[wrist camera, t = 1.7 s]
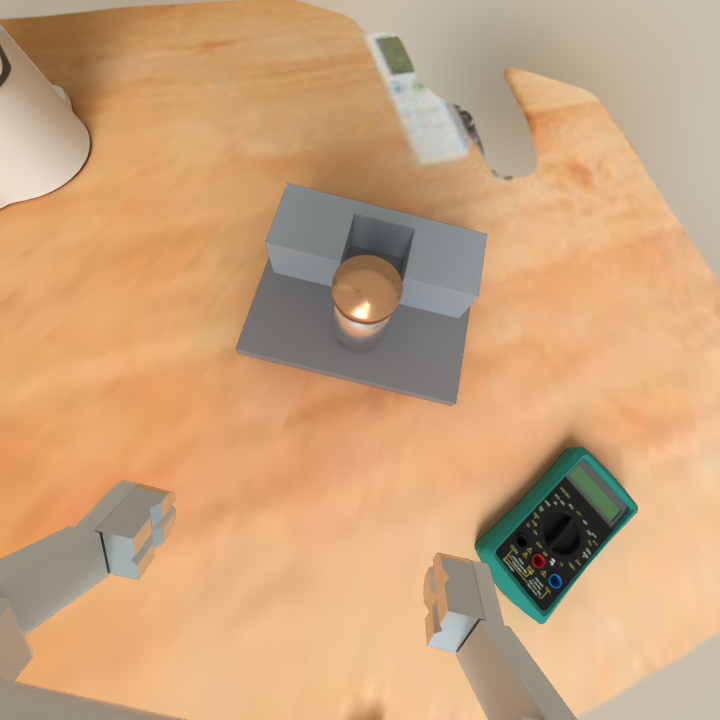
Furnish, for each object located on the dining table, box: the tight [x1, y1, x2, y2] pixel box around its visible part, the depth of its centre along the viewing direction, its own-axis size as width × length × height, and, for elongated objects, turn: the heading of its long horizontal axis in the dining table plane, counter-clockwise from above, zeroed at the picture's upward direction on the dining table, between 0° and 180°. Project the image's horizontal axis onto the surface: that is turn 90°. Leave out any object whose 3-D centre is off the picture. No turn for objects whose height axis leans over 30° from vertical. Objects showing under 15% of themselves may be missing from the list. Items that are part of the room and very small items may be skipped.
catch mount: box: [236, 183, 487, 406], centre depth 34 cm, size 22×17×6 cm
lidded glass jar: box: [332, 255, 403, 353], centre depth 30 cm, size 5×5×9 cm
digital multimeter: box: [475, 447, 638, 624], centre depth 31 cm, size 7×15×3 cm, turn 129°
